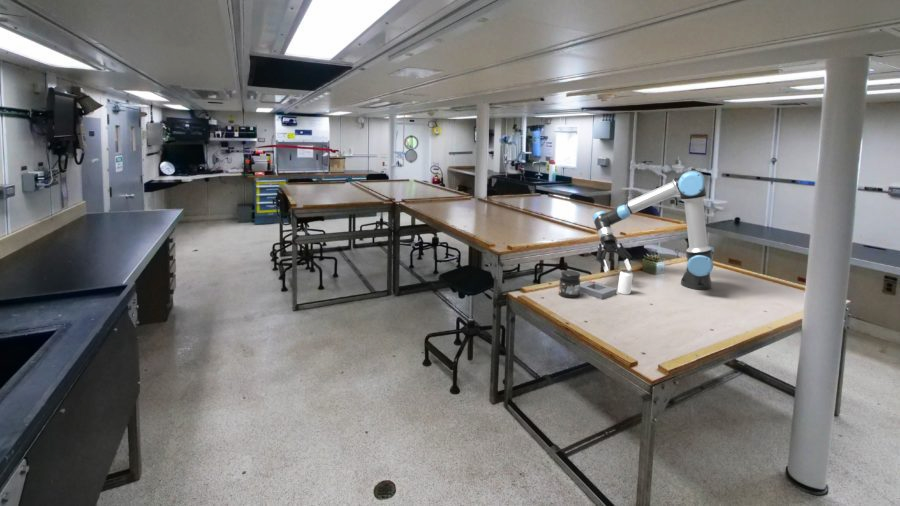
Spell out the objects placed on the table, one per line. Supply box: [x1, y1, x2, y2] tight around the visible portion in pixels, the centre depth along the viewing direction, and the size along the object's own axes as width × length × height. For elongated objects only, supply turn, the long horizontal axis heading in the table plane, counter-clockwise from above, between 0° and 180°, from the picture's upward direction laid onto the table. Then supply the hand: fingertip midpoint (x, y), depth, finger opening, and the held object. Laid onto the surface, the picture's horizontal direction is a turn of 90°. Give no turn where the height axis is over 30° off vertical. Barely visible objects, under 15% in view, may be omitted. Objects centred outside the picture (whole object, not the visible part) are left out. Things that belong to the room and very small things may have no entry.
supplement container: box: [558, 269, 581, 299], centre depth 239 cm, size 10×10×12 cm
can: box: [617, 269, 634, 296], centre depth 244 cm, size 6×6×12 cm
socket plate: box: [579, 279, 618, 300], centre depth 245 cm, size 16×13×4 cm
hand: (618, 271), depth 248 cm, fingers open, 13 cm apart
